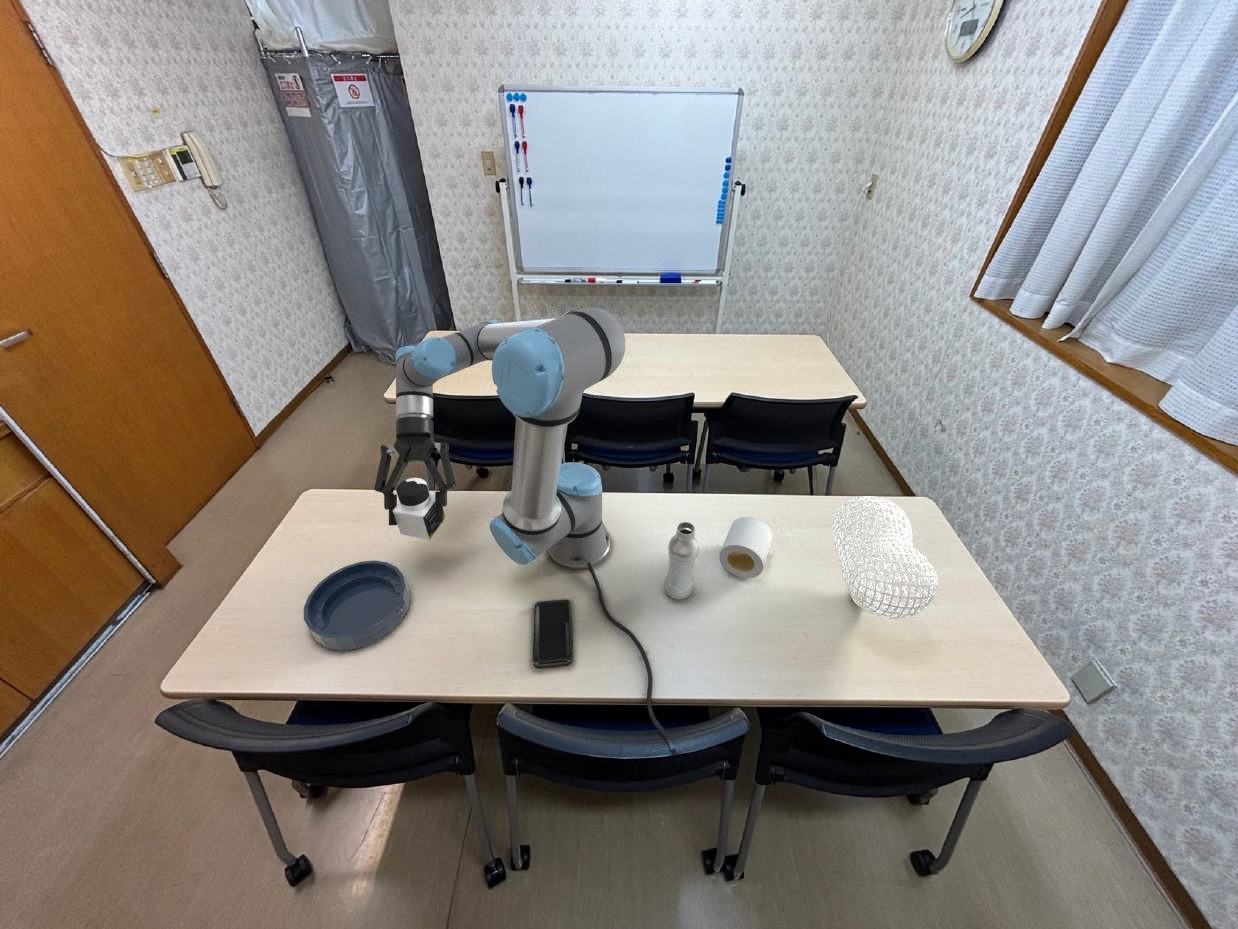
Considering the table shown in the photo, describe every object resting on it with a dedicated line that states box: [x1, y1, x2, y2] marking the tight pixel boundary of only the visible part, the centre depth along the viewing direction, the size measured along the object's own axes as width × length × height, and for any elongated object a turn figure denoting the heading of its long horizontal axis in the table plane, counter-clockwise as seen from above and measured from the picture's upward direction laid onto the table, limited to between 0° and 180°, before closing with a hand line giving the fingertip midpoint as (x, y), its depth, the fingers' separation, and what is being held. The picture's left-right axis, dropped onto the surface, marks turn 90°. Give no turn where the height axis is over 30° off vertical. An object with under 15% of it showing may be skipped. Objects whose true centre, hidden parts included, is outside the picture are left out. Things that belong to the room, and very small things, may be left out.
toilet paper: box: [718, 516, 773, 579], centre depth 118 cm, size 10×10×10 cm
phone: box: [532, 599, 574, 669], centre depth 105 cm, size 8×1×15 cm
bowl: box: [303, 559, 411, 651], centre depth 108 cm, size 20×20×5 cm
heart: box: [831, 495, 939, 620], centre depth 106 cm, size 28×16×22 cm, turn 175°
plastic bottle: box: [664, 521, 700, 600], centre depth 108 cm, size 6×7×20 cm
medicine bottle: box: [393, 477, 446, 540], centre depth 108 cm, size 7×7×12 cm
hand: (416, 523), depth 107 cm, fingers closed on medicine bottle, 9 cm apart
